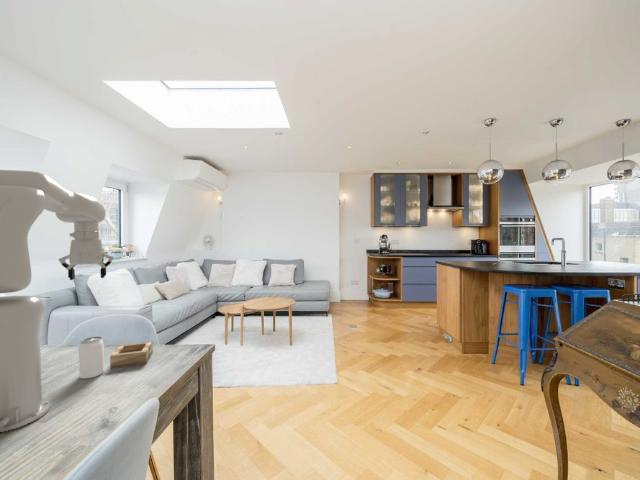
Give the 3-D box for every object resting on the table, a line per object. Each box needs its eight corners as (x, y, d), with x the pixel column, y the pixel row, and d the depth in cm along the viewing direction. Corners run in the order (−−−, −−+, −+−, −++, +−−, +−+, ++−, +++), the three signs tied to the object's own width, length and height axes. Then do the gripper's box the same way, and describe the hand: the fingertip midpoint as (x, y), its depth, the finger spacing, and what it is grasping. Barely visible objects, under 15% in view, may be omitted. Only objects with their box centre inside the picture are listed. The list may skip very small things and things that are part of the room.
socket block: (146, 363, 104) (146, 351, 104) (110, 369, 100) (110, 356, 100) (152, 352, 114) (152, 341, 114) (120, 356, 110) (120, 345, 110)
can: (108, 370, 99) (108, 336, 99) (92, 379, 92) (91, 343, 92) (92, 369, 99) (91, 335, 99) (74, 379, 93) (73, 343, 93)
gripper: (54, 236, 106) (56, 281, 106) (111, 235, 114) (112, 278, 114) (62, 236, 113) (63, 279, 113) (114, 235, 120) (115, 275, 121)
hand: (87, 278), depth 114 cm, fingers open, 9 cm apart
